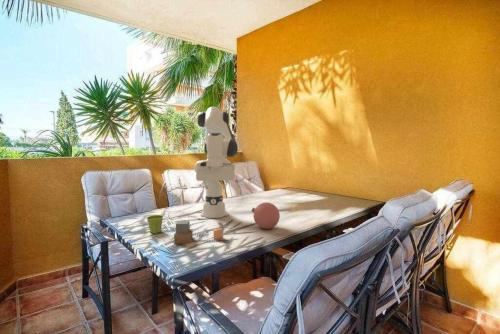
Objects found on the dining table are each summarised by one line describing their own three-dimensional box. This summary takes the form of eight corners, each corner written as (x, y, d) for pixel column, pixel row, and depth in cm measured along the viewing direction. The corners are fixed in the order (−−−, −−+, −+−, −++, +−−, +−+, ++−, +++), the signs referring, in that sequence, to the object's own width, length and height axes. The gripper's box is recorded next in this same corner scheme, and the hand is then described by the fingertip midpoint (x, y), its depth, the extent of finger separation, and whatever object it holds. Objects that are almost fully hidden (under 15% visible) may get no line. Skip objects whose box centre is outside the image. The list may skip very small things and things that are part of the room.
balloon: (262, 221, 186) (262, 198, 185) (285, 228, 170) (285, 203, 169) (243, 226, 176) (243, 201, 175) (265, 234, 161) (265, 206, 160)
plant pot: (146, 235, 161) (145, 219, 161) (147, 230, 170) (146, 215, 170) (164, 233, 164) (163, 218, 163) (164, 228, 173) (163, 214, 172)
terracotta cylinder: (214, 237, 157) (213, 228, 157) (223, 236, 157) (223, 227, 157) (213, 240, 152) (213, 230, 152) (222, 240, 152) (222, 230, 152)
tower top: (178, 230, 154) (178, 220, 154) (189, 229, 155) (189, 220, 154) (176, 233, 148) (175, 224, 148) (187, 233, 149) (187, 223, 148)
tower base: (177, 238, 156) (177, 229, 155) (192, 238, 156) (192, 229, 156) (174, 243, 148) (174, 234, 147) (190, 243, 148) (189, 233, 148)
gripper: (234, 162, 158) (235, 187, 159) (197, 163, 157) (197, 188, 158) (234, 163, 152) (235, 189, 152) (195, 163, 151) (195, 190, 152)
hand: (215, 189), depth 155 cm, fingers open, 8 cm apart
